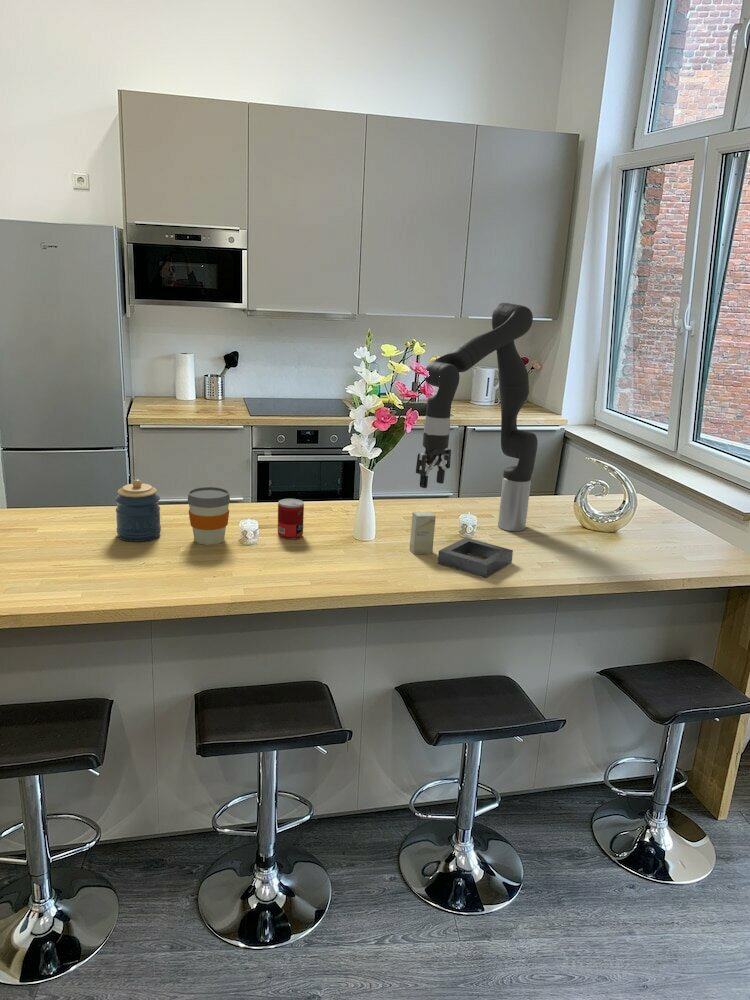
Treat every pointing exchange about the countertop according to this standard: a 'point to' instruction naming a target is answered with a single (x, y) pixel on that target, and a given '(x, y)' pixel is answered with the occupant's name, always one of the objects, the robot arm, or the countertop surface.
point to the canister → (138, 512)
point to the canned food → (290, 518)
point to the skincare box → (422, 532)
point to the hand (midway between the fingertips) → (431, 485)
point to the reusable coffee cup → (208, 514)
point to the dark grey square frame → (483, 568)
